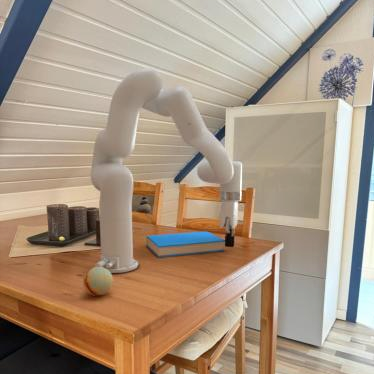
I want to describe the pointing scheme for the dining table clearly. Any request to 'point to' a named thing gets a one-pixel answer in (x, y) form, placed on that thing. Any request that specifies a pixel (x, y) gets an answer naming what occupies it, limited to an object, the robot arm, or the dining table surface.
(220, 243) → the book
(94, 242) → the bookend
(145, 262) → the dining table surface
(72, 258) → the dining table surface
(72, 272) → the dining table surface
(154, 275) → the dining table surface
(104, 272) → the ball
